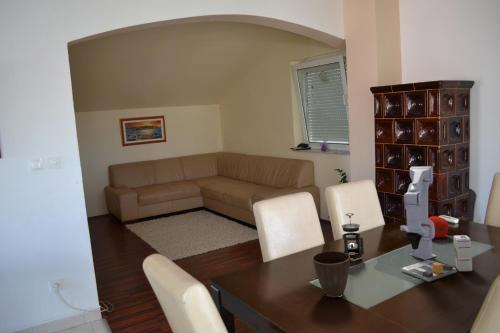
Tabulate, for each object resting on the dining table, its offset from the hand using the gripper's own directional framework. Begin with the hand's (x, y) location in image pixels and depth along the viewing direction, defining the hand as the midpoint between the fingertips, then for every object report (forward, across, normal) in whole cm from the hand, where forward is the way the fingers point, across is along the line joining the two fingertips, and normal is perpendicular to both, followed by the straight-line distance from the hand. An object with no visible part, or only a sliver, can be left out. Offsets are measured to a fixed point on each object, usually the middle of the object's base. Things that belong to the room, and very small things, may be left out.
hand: (415, 248), depth 183 cm
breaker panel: (+10, +4, +4) cm, 12 cm away
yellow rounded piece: (+9, +9, +3) cm, 13 cm away
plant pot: (+11, -3, -43) cm, 44 cm away
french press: (+11, -31, -10) cm, 34 cm away
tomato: (+11, -28, +45) cm, 54 cm away
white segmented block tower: (+11, +10, +17) cm, 23 cm away
